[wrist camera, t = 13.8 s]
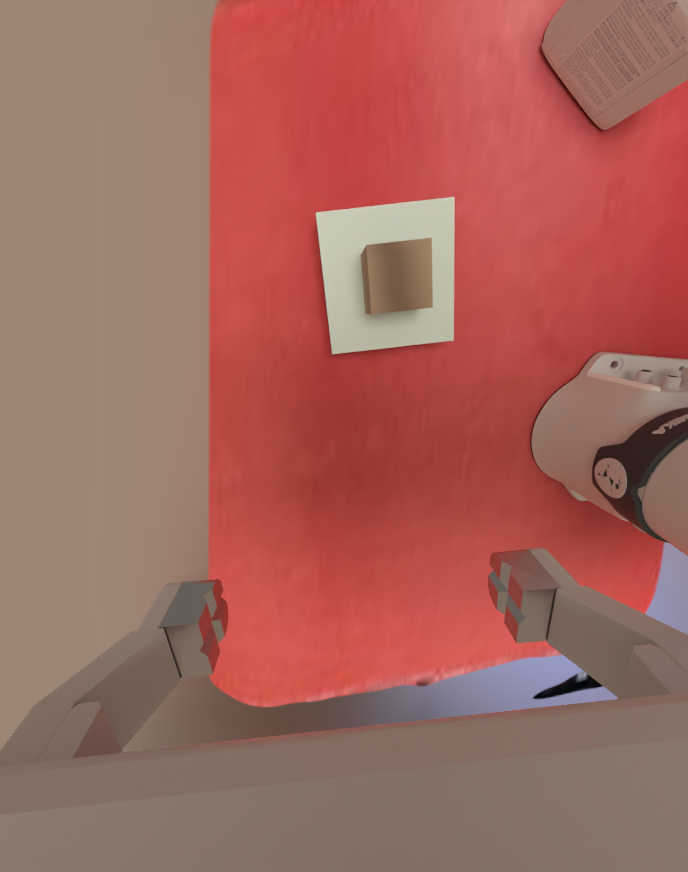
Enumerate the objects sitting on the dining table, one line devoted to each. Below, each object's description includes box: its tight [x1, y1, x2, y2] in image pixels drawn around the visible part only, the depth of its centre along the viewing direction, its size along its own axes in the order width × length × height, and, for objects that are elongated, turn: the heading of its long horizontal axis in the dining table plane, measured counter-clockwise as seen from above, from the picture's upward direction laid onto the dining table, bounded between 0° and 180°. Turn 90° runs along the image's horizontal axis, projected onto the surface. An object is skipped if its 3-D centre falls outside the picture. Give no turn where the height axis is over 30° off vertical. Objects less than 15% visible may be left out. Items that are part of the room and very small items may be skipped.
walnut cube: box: [361, 238, 433, 314], centre depth 29 cm, size 5×5×5 cm
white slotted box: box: [542, 0, 688, 130], centre depth 24 cm, size 10×4×12 cm, turn 52°
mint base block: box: [316, 197, 455, 354], centre depth 34 cm, size 12×12×4 cm
